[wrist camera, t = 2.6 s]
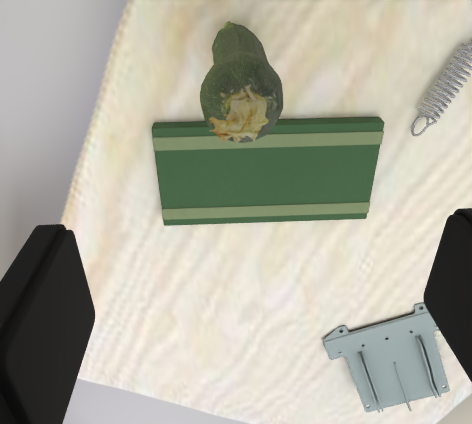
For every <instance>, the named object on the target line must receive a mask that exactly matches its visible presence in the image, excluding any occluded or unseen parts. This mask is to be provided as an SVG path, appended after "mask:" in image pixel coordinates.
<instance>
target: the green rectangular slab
mask: <svg viewBox="0 0 472 424" xmlns="http://www.w3.org/2000/svg"><path fill="white" fill-rule="evenodd" d="M383 127H384V121H383V120H382V119H381V118H380V117H361V118H323V119H285V120H277V122H276V124H275V125H274V127H273V129H272V130H271V131H270V132H269V133H268V134H267V135H266V136H263V137H261V138H259V139H257V140H255V141H252V142H245V143H239V142H238V143H237V142H233V141H229V140H226V141H222V140H221V139H220V138H219V136H218V135H217V134H216V133H214V132H209V130H213V129H212V128H211V127H210V126H209V125H208V124H207V123H206V122H172V123H154V124H153V127H152V135H153V146H154V151H155V158H156V166H157V174H158V182H159V190H160V198H161V205H162V216H163V221H164V225H165V226H166V225H195V224H225V223H254V222H283V221H312V220H342V219H366V217H367V213H368V211H369V205H370V202H369V201H370V196H371V190H372V185H373V180H374V175H375V169H376V164H377V159H378V154H379V148H380V144H381V143H382V138H383V133H384V131H383Z"/></svg>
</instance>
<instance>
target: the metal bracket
mask: <svg viewBox="0 0 472 424" xmlns="http://www.w3.org/2000/svg"><path fill="white" fill-rule="evenodd" d="M420 306H423V308H422V309H419V307H420ZM414 309H415V313H414V314H412V315H408V316H405V317H401V318H398V319H394V320H391V321H387V322H384V323H380V324H377V325H373V326H370V327H367V328H363V329H360V330H356V331H353V332H348V330H347V328H346V326H340V327H338V328H337V329H335V330H334V331H333V332H332V333H331V334H329V335H328V336H327V337H326V338H325V339H324V340H323V342H324V345H325V348H326V351H327V353H328V356H329V358H330V359H331V360H332V359H336V358H340V357H346V359H347V362H348V365H349V368H350V370H351V373H352V376H353V379H354V382H355V384H356V387H357V390H358V393H359V395H360V398H361V401H362V404H363V407H364V409H365V411H366V412H371V411H374V410H378V412H380V411H379V409H381V410H382V411H383V408H386V407H390V406H394V405H398V404H402V403H407V405H408V408H409V410H410V411H412V410H411V407H410V404H409V402H410V401H414V400H418V399H422V398H426V397H430V396H433V395H434V396H435V398H437V394H438V395H439V397H441V393H445V392H448V391H449V390H450V389H449V385H448V382H447V378H446V375H445V371H444V368H443V364H442V361H441V357H440V354H439V350H438V347H437V343H436V340H435V336H434V332H435V331H437V330H439V328H438V326H437V325H436V326H435V324H436V323H435V322H434V320H433V318H432V317H431V315H430V313H429V312H428V310H427V308H426V306H425V304H424V303H419V304H416V305H415V306H414ZM341 329H342V330H343V332H339V330H341ZM410 331H412V332H411V333H410ZM385 338H388V339H385ZM362 344H364V346H362ZM338 351H341V352H340V353H339V352H338ZM443 385H446V386H445V387H444V388H443V387H442V386H443ZM366 405H370V406H369V407H366Z"/></svg>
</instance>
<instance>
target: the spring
mask: <svg viewBox="0 0 472 424" xmlns="http://www.w3.org/2000/svg"><path fill="white" fill-rule="evenodd" d="M462 47H463V48H465V49H466V50H467V51H466V50H462V49H459V50H458V52H459V53H460V54H461V55H462V56H464V57H462V56H459V55H454V58H455V59H456V60H458V61H459V62H461V63H462V64H461V63H459V62H456V61H450V63H451V64H452V65H453V66H455V67H456V68H458V69H459V70H458V69H456V68H453V67H450V66H447V67H446V69H448V70H449V71H450V72H452V73H453V74H455V75H456V76H455V75H453V74H450V73H447V72H442V74H443V75H445V76H446V77H448V78H449V79H451V80H452V81H454V82H452V81H450V80H447V79H445V78H442V77H439V80H441V81H442V82H443V83H445V84H446V85H448V86H450V87H451V88H450V87H447V86H445V85H443V84H440V83H437V82H436V83H435V85H437V86H438V87H440V88H441V89H443V90H444V91H446V92H447V93H449V94H447V93H445V92H442V91H440V90H438V89H436V88H432V90H433V91H434V92H436V93H437V94H439V95H440V96H442V97H443V98H445V99H446V100H445V99H443V98H440V97H438V96H436V95H434V94H431V93H428V95H429V96H431V97H432V98H434V99H435V100H437V101H438V102H440V103H441V104H442V105H441V104H438V103H436V102H434V101H432V100H429V99H427V98H425V99H424V100H425V101H427V102H429V103H430V104H432V105H433V106H435V107H436V108H438V109H439V110H440V111H439V110H437V109H434V108H432V107H430V106H428V105H426V104H423V103H421V105H422V106H424V107H425V108H427V109H428V110H430V111H431V112H433V113H434V114H435V115H437V116H435V115H433V114H430V113H428V112H426V111H424V110H422V109H420V108H418V109H417V110H419V111H420V112H422V113H424V114H425V115H421V116H420V117H418V118H417V119H416V121H415V122H414V124H413V126H412V129H411V133H412V135H413V136H419V135H421V134H422V133H423V132H424V131H425V130H426V129H427V128H428V127H429V126H431V125H432V124H435V123H437V120H436V119H434V118H438V119H439V118H440V115H439V114H438V113H442V114H443V113H444V110H442V109H441V108H440V107H442V108H448V106H447V105H446V104H445V103H444V102H446V103H451V100H450V99H449V98H447V97H446V96H448V97H451V98H455V95H454V94H453V93H451V92H450V91H453V92H456V93H459V90H458V89H457V88H455V87H454V86H452V85H451V84H453V85H456V86H458V87H463V85H462V84H461V83H460V82H458V81H457V80H455V79H454V78H456V79H458V80H461V81H463V82H467V79H465V78H464V77H462V76H461V75H459V74H458V73H456V72H459V73H461V74H463V75H466V76H471V74H470V73H469V72H467V71H465V70H464V69H462V68H461V67H459V66H462V67H464V68H467V69H469V70H472V66H470V65H469V64H467V63H465V62H464V61H462V60H461V59H463V60H465V61H468V62H470V63H472V58H470V57H469V56H467V55H466V54H469V55H472V50H470V49H469V48H471V49H472V42H471V45H468V44H466V43H463V44H462ZM468 47H469V48H468ZM464 53H466V54H464ZM459 58H460V59H459ZM456 64H457V65H456ZM458 65H459V66H458ZM453 70H454V71H453ZM455 71H456V72H455ZM452 77H453V78H452ZM449 83H451V84H449ZM445 88H446V89H445ZM452 88H453V89H452ZM447 89H448V90H450V91H448V90H447ZM445 95H446V96H445ZM442 101H444V102H442ZM443 105H444V106H443ZM437 112H438V113H437ZM422 117H426V118H427V123H426V124H427V126H426V127H425V128H424V129H423V130H422V131H421V132H420V133H418V134H414V127H415V124H416V123H417V121H418V120H419V119H420V118H422ZM433 117H434V118H433ZM429 118H431V119H432V120H433V121H434V122H432V123H430V124H429Z"/></svg>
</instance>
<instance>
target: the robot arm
mask: <svg viewBox="0 0 472 424" xmlns="http://www.w3.org/2000/svg"><path fill="white" fill-rule="evenodd" d="M424 304H425V306H426V308H427V310H428V312H429V313H430V315H431V317H432V318H433V320H434V322H435V323H436V325H437V326H438V328H439V330H440V331H441V333H442V335H443V336H444V338H445V339H446V341H447V343H448V344H449V346H450V348H451V349H452V351H453V353H454V354H455V356H456V357H457V359H458V361H459V362H460V364H461V366H462V367H463V369H464V370H465V372H466V374H467V375H468V377H469V379H470V380H471V382H472V208H467V209H458V210H456V211H455V212H454V214H453V215H450V216H449V217H448V219H447V221H446V224H445V228H444V231H443V234H442V237H441V240H440V244H439V247H438V250H437V253H436V256H435V260H434V263H433V266H432V269H431V272H430V276H429V279H428V282H427V285H426V288H425V292H424ZM94 322H95V309H94V305H93V302H92V298H91V294H90V290H89V287H88V283H87V279H86V276H85V272H84V268H83V265H82V261H81V257H80V254H79V250H78V246H77V243H76V239H75V235H74V233H73V231H72V230H66V228H65V226H64V225H62V224H56V225H38V226H36V228H35V229H34V230H33V232H32V233H31V235H30V237H29V238H28V240H27V241H26V243H25V244H24V246H23V248H22V249H21V250H20V252H19V254H18V255H17V257H16V258H15V260H14V261H13V263H12V265H11V266H10V268H9V269H8V271H7V272H6V274H5V275H4V277H3V278H2V280H1V281H0V424H62V423H63V420H64V417H65V414H66V411H67V407H68V404H69V401H70V398H71V395H72V392H73V389H74V385H75V382H76V379H77V376H78V373H79V370H80V366H81V363H82V360H83V357H84V354H85V351H86V348H87V344H88V341H89V338H90V335H91V332H92V329H93V325H94Z"/></svg>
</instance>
